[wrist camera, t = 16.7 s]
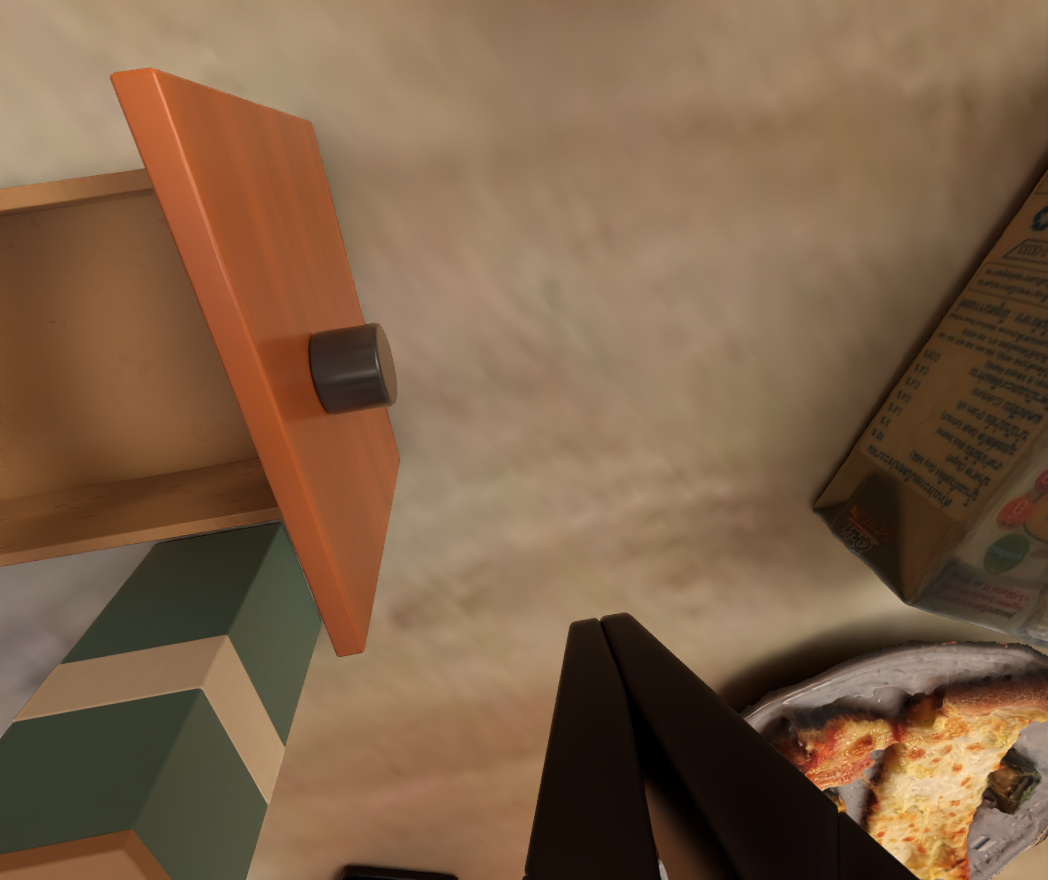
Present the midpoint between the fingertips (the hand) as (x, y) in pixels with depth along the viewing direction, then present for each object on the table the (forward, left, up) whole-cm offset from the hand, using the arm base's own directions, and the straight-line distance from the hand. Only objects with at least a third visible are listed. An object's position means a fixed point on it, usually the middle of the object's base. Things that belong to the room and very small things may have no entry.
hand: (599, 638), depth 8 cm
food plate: (-27, +16, -12) cm, 34 cm away
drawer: (+12, +4, -12) cm, 17 cm away
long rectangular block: (+7, +12, -12) cm, 18 cm away
